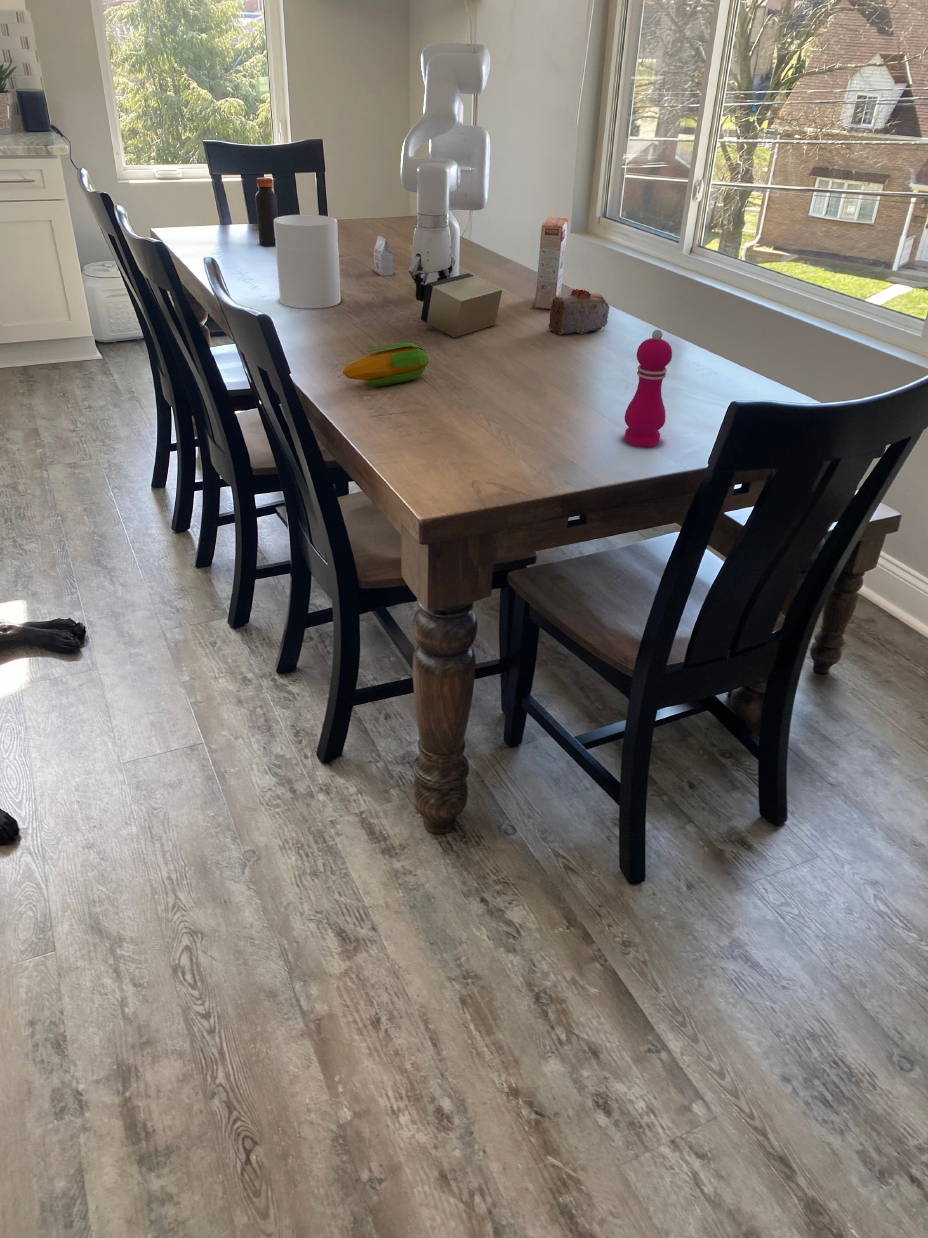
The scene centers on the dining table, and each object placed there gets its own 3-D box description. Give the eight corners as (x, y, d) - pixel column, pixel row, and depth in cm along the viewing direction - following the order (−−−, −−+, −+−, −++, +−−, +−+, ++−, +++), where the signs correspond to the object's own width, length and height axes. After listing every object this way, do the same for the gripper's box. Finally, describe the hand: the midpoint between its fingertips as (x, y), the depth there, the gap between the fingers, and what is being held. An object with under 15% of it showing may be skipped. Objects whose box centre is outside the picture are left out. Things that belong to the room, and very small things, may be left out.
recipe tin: (404, 311, 219) (410, 274, 213) (446, 299, 229) (452, 264, 224) (454, 337, 212) (461, 300, 207) (495, 324, 223) (502, 289, 217)
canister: (352, 301, 238) (350, 220, 227) (305, 311, 228) (300, 227, 217) (315, 290, 247) (310, 212, 236) (267, 299, 237) (260, 218, 226)
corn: (436, 341, 183) (351, 356, 173) (437, 378, 187) (353, 395, 177) (417, 335, 188) (333, 348, 178) (418, 371, 192) (336, 386, 182)
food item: (590, 323, 227) (595, 283, 222) (609, 331, 222) (614, 290, 216) (545, 328, 222) (549, 287, 216) (563, 337, 216) (566, 295, 211)
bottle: (278, 246, 295) (272, 180, 284) (257, 246, 294) (251, 179, 284) (282, 242, 300) (276, 177, 289) (261, 242, 300) (256, 176, 289)
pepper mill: (632, 430, 166) (647, 321, 155) (668, 439, 163) (686, 329, 152) (614, 442, 161) (629, 330, 150) (651, 452, 158) (669, 338, 147)
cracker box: (556, 310, 237) (563, 226, 226) (533, 308, 238) (540, 224, 226) (562, 298, 249) (569, 217, 237) (540, 296, 249) (546, 215, 238)
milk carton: (385, 269, 271) (384, 234, 265) (392, 274, 266) (392, 239, 260) (373, 270, 270) (372, 235, 264) (381, 275, 265) (380, 239, 259)
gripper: (444, 214, 220) (443, 289, 230) (396, 223, 208) (397, 301, 218) (468, 218, 216) (465, 294, 226) (419, 227, 204) (419, 307, 214)
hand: (432, 297), depth 222 cm, fingers closed on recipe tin, 7 cm apart
